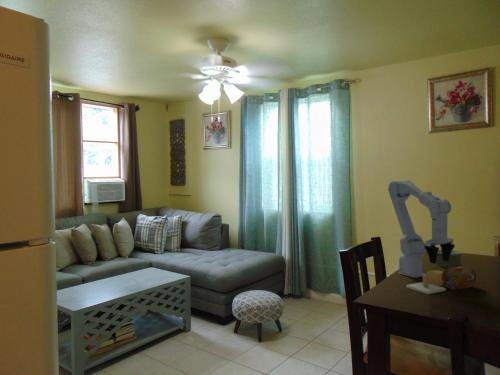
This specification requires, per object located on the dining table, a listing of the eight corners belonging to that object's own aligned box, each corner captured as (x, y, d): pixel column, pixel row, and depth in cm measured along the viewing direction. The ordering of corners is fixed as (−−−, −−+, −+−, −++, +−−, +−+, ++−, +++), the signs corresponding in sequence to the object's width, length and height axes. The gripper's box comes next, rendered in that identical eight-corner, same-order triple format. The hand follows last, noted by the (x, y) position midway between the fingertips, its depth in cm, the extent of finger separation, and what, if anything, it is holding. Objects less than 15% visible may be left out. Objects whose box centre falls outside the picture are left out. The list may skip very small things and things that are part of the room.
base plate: (406, 287, 147) (406, 275, 147) (423, 284, 152) (423, 272, 151) (427, 294, 138) (427, 281, 138) (445, 290, 142) (445, 278, 142)
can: (433, 262, 191) (433, 249, 191) (459, 263, 186) (459, 250, 186) (435, 267, 180) (435, 253, 180) (463, 269, 175) (463, 255, 175)
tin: (446, 290, 143) (446, 269, 142) (440, 288, 146) (439, 267, 145) (476, 287, 147) (476, 266, 146) (470, 285, 150) (470, 264, 149)
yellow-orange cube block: (426, 283, 153) (426, 271, 153) (435, 281, 155) (435, 269, 155) (437, 286, 149) (437, 274, 148) (445, 284, 151) (445, 272, 151)
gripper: (436, 231, 144) (436, 266, 144) (460, 229, 150) (460, 262, 150) (420, 229, 150) (420, 262, 150) (444, 227, 156) (444, 258, 157)
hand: (439, 262), depth 151 cm, fingers open, 7 cm apart
